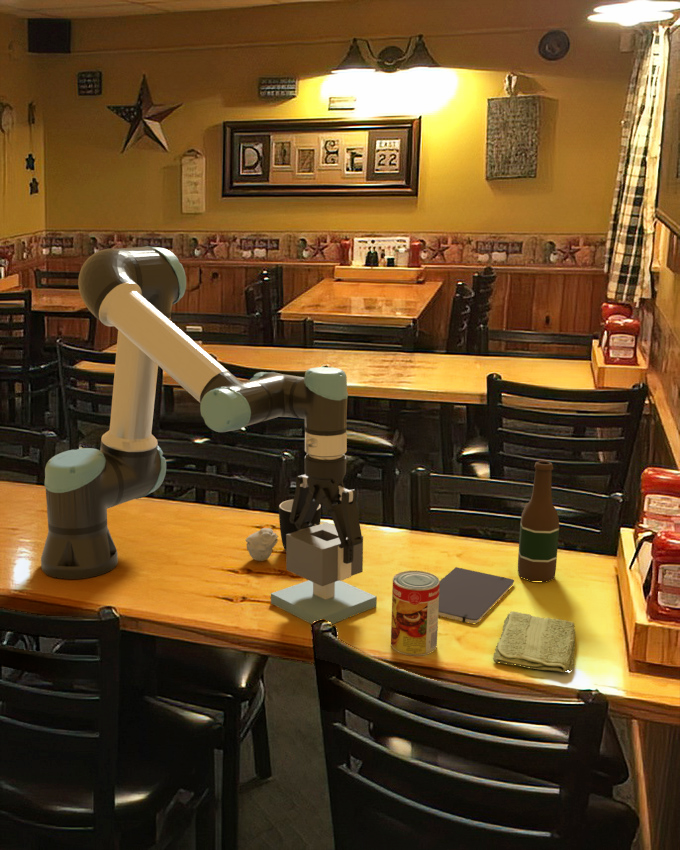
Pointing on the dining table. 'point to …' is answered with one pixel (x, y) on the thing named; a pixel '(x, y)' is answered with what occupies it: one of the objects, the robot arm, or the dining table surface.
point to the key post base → (323, 601)
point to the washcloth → (536, 642)
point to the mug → (289, 527)
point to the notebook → (470, 594)
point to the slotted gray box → (318, 554)
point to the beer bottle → (539, 529)
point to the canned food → (414, 612)
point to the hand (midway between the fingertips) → (324, 569)
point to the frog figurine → (261, 544)
